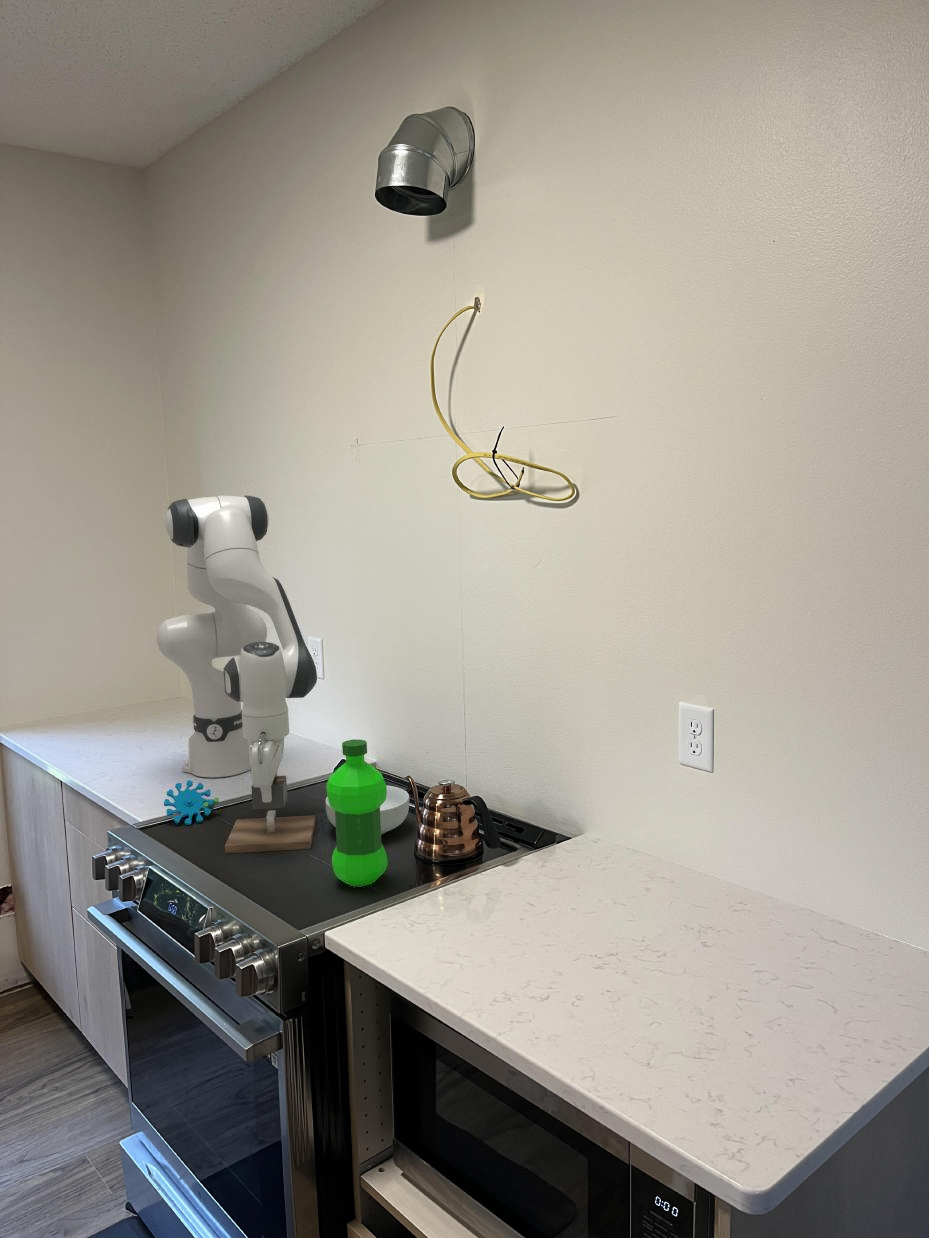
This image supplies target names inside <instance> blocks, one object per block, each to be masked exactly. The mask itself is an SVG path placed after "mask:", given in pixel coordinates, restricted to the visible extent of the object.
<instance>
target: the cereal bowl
mask: <svg viewBox="0 0 929 1238" xmlns="http://www.w3.org/2000/svg"><path fill="white" fill-rule="evenodd" d="M386 787H387V795H386V800H385V802H384V803H383V804H382V805H381V806H380V822H381V836H382V835H384V834H385V833H387V832H389V831H392V830H394V829H396V828H397V827H400V825H401V824H402V823H403V822H404V821H405V819H406V818H407V816H408V813H409V810H410V809H409V808H410V794H409V793H408V791H406V790H404V788H403V789H402V788H400V787H398V786H393V785H388V784H386ZM325 813H326V816H327V819H328V821H329V822H330V823H331V824H332V825H333V827H335V828H336V822H335V810H334V809H333V808H332V807H331V806H330V804H329V801H328V796H327V795H326V798H325Z"/></svg>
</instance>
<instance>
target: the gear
mask: <svg viewBox="0 0 929 1238" xmlns="http://www.w3.org/2000/svg"><path fill="white" fill-rule="evenodd" d="M193 784H194V781H193V780H186V784H185V785H186V788H185V789H184V790H181V789H182V787H183V784H182V783H181V782H177V783H175V786H174V788H175V789H176V790H177V795H175V794H174V790H173V789H172V788H171V789H169V790H167V792H166V796H167V797H170V798H171V799H172V800H173V802H171V801H170V798H165V799H164V801H163V806H164V807H173V808H175V809H171V808H167V809H166V812H165V813H166V816H167V817H171V816H172V815H173V814H180V815H175V816H173V821H174V822H175V823H176V824H179V823H180V822H181V820H182V819H183V818H185V817H186V816H187V817H188V818H186V819H185V820H184V825H186V826H191V825H192V819H193V816H195V815H196V819H195V822H196V824H198V823H202V822H203V820H204V819H203V818H204V817H203V816H202V815H201V811H204V812H203V813H204V816H205V817H208V816H209V815H210V814H212V810H214V808H215V806H217V805H218V804H219V802H220V799H219V797H214V798H213V799H212V798H208V797H211V794H212V793H211V792H212V791H211V789H206V790H204V791H200V790H203V789H204V788H205V787H204V784H203V783H202V782H198V783H197V784H196V786H195V787H194V788H192V789H190V788H191V787H193ZM198 790H199V791H198ZM203 796H205V797H207V798H204V797H203Z"/></svg>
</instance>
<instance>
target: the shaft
mask: <svg viewBox="0 0 929 1238" xmlns="http://www.w3.org/2000/svg"><path fill="white" fill-rule="evenodd" d="M276 817H277V811H276V809H275V810H273V809H271V810H268V811H267V813H266V818H267V833H275V830H276Z"/></svg>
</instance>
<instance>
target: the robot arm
mask: <svg viewBox="0 0 929 1238" xmlns="http://www.w3.org/2000/svg"><path fill="white" fill-rule="evenodd" d="M269 518H270V517H269V512H268V509H267V507H266V505H265V502H264V501H263V500H262V499H261V498H259V497H257V496H253V495H252V496H251V495H244V496H239V495H214V496H207V497H206V496H204V497H196V498H191V499H187V498H181V499H178V500H175V501H172V502H171V503H170V505H168V507H167V511H166V515H165V519H164V520H165V529H166V530H165V531H166V533H167V534H168V537H169V539H170V541H171V542H172V543H173V544H174V545H176V546H179V547H183V548H186V568H187V569H186V573H187V574H186V576H187V577H186V578H187V590H188V592H189V594H190V595H191V596H192V598H193V599H195V600H196V601H198V602H200V603H202V604H204V605H208V606H211V607H212V608H214V611H212V612H205V613H195V614H194V613H193V614H192V613H191V614H183V615H179V616H175V617H171V618H169V619H168V618H167V619H164V620H163V622H162V623H161V624H160V625H159V628H158V630H157V634H156V642H157V643H156V644H157V647H158V649H159V651H160V653H161V654H162V655H163V656H164V657H165V658H166V659H168V660H169V661H171V662H173V663H175V665H176V666H178V667H179V668H180V670H182V671H183V673H184V674H185V676H186V677H187V679H188V682H189V684H190V688H191V692H192V700H193V709H194V714H193V717H192V719H193V720H192V726H193V730H194V733H192V735H191V736H189V738H188V741H187V743H188V745H187V746H188V763H187V764H185V765H184V766H182V772H184V773H189V774H192V775H194V776H197V777H202V778H223V777H230V776H231V777H232V776H236V775H240V774H243V773H246V772H247V771H248V772H249V771H251V785H252V784H253V787H260V790H261V793H262V801H263V802H271V801H272V789H271V785H272V783H273V780H274V778H275V776H278V770H279V767H280V765H281V761H282V760H283V755H284V750H285V737H287V736H288V735H290V721H289V708H288V704H287V701H286V700H287V699H301V698H305V697H306V696H307V695H308V694H309V693H310V692H312V690H313V689H314V688H315V686H316V684H317V683H318V682H317V681H318V675H317V673H318V672H317V667H316V664H315V661H314V659H313V656H312V654H311V653H310V651H309V649H308V647H307V645H306V642H305V640H304V637H303V635H302V632H301V629H300V627H299V625H298V622H297V619H296V617H295V614H294V610H293V609H292V606H291V602H290V600H289V598H288V596H287V594H286V593H287V592H286V591H285V589H284V587H283V585H282V583H281V582H280V580H279V579H277V578H275V577H273V576H272V575H271V574H269V572H268V571H267V570H266V569H265V567H264V565H263V563H262V561H261V557H260V553H259V549H258V544H257V542H258V541H261V540H262V539H263V538H264V537H266V535H267V533H268V528H269V520H270V519H269ZM249 606H250V607H252V608H256V609H258V610H260V611H261V612H264V613H266V614H267V615H268V616H269V617H270V619H271V621H272V624H273V626H274V629H275V631H276V634H277V638H278V640H279V643H280V645H281V647H280V646H279V645H278V644H276V643H273V642H268V641H267V638H268V627H267V624H266V621H265V620H264V619H263V616H261V615H260V614H259V613H258V612H256V611H254V610H253V609H251V608H250V607H249ZM281 648H282V649H281ZM227 657H229V658H230V657H231V658H230V660H229V661H228V662H227V663H226V664H225V666H224V667H223V670H222V669H219V668H216V667H215V666H213V660H215V659H219V658H227Z"/></svg>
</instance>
